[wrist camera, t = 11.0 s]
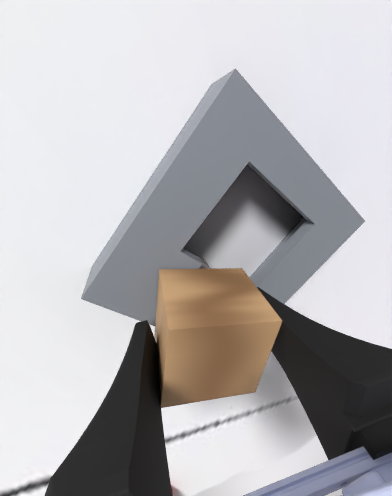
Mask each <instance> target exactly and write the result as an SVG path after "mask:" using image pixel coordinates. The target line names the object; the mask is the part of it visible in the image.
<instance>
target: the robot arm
mask: <svg viewBox="0 0 392 496" xmlns="http://www.w3.org/2000/svg"><path fill="white" fill-rule="evenodd" d="M257 288H258V290H259V291H260V292H261V294H262V295H263V296H264V298H265V299H266V300H267V301H268V303H269V304H270V305H271V307H272V308H273V309H274V311H275V312H276V313H277V314H278V316H279V317H280V318H281V320H282V323H281V326H280V329H279V331H278V334H277V337H276V339H275V342H274V344H273V347H272V350H271V351H272V352H273V354H274V355H275V357H276V359H277V360H278V362H279V363H280V365H281V366H282V368H283V370H284V371H285V373H286V375H287V377H288V379H289V381H290V382H291V384H292V386H293V388H294V390H295V392H296V394H297V396H298V398H299V400H300V402H301V403H302V405H303V407H304V409H305V411H306V413H307V416H308V418H309V420H310V422H311V424H312V426H313V428H314V430H315V432H316V434H317V436H318V438H319V440H320V442H321V445H322V447H323V449H324V451H325V453H326V455H327V458H328V460H329V461H326V462H324V463H321V464H319V465H316V466H314V467H312V468H309V469H307V470H304V471H302V472H299V473H297V474H294V475H292V476H290V477H287V478H285V479H283V480H280V481H277V482H275V483H273V484H270V485H268V486H266V487H263V488H260V489H258V490H256V491H253V492H251V493H248V494H246V495H244V496H325V495H327V494H329V493H332V492H334V491H336V490H339V489H341V488H343V487H344V488H343V489H342V494H343V496H392V349H389V348H386V347H382V346H378V345H375V344H371V343H368V342H365V341H362V340H359V339H356V338H353V337H350V336H348V335H345V334H343V333H340V332H337V331H335V330H332V329H330V328H328V327H325V326H323V325H321V324H319V323H317V322H315V321H313V320H311V319H309V318H307V317H305V316H303V315H301V314H300V313H298V312H296V311H294V310H293V309H291V308H289V307H288V306H286V305H285V304H283V303H281V302H280V301H278V300H277V299H275V298H274V297H272V296H271V295H269V294H268V293H266V292H265V291H263V290H262V289H261V288H259V287H257ZM45 496H172V490H171V484H170V477H169V470H168V462H167V455H166V447H165V440H164V432H163V423H162V415H161V404H160V387H159V369H158V354H157V343H156V341H155V338H154V336H153V333H152V331H151V328H150V325H149V323H148V320H145V321H142V322H138V323H136V324H135V327H134V331H133V334H132V337H131V340H130V343H129V346H128V349H127V351H126V354H125V357H124V359H123V362H122V364H121V366H120V368H119V371H118V373H117V375H116V377H115V380H114V382H113V384H112V386H111V388H110V390H109V391H108V393H107V395H106V397H105V399H104V401H103V402H102V404H101V406H100V408H99V409H98V411H97V413H96V414H95V416H94V418H93V419H92V421H91V422H90V424H89V425H88V427H87V428H86V430H85V431H84V433H83V434H82V436H81V437H80V439H79V440H78V442H77V443H76V445H75V446H74V448H73V449H72V450H71V452H70V453H69V454H68V456H67V457H66V459H65V460H64V461H63V463H62V464H61V465H60V467H59V468H58V469H57V471H56V472H55V473H54V475H53V476H52V477H51V478H50V482H49V485H48V488H47V490H46V493H45Z"/></svg>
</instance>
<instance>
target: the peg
mask: <svg viewBox="0 0 392 496" xmlns="http://www.w3.org/2000/svg"><path fill="white" fill-rule="evenodd" d="M197 257H198V256H197ZM199 259H200V261H201V263H202V265H201V266H200V268H199V269H159V278H158V292H157V307H156V322H155V341H156V343H157V354H158V369H159V387H160V404H161V408H163V407H169V406H175V405H181V404H187V403H193V402H199V401H205V400H211V399H217V398H223V397H229V396H235V395H241V394H247V393H253V392H255V391H256V389H257V386H258V383H259V381H260V378H261V376H262V373H263V370H264V368H265V365H266V363H267V360H268V357H269V355H270V352H271V350H272V347H273V344H274V342H275V339H276V337H277V334H278V331H279V329H280V326H281V323H282V320H281V318H280V317H279V316H278V314H277V313H276V312H275V311H274V309H273V308H272V307H271V305H270V304H269V303H268V301H267V300H266V299H265V298H264V296H263V295H262V294H261V292H260V291H259V290H258V288H257V287H256V286H255V285H254V283H253V282H252V281H251V279H250V278H249V277H248V275H247V274H246V273H245V272H244V270H243V269H242V268H237V269H209V267H208V265H207V263H206V262H205V261H204V260H203V259H202V258H200V257H199Z"/></svg>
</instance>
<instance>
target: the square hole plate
mask: <svg viewBox="0 0 392 496" xmlns="http://www.w3.org/2000/svg"><path fill="white" fill-rule="evenodd" d="M247 164H248V165H249V166H250V167H251V168H252V169H253V170H254V171H255V172H256V173H257V174H258V175H259V176H260V177H262V178H263V179H264V180H265V181H266V182H267V183H268V184H269V185H270V186H271V187H272V188H273V189H274V190H275V191H276V192H277V193H279V194H280V195H281V196H282V197H283V198H284V199H285V200H286V201H287V202H288V203H289V204H290V205H291V206H292V207H293V208H295V209H296V210H297V211H298V212H299V213H300V214H301V215H302V216H303V218H302V219H301V220H300V222H299V223H298V224H297V225H296V226H295V227H294V228H293V229H292V231H291V232H290V233H289V234H288V235H287V236H286V237H285V238H284V239H283V241H282V242H281V243H280V244H279V245H278V246H277V247H276V248H275V250H274V251H273V252H272V253H271V254H270V255H269V256H268V257H267V259H266V260H265V261H264V262H263V263H262V264H261V265H260V266H259V268H258V269H257V270H256V271H255V272H254V273H253V274H252V275H251V276H250V279H251V281H252V282H253V283H254V285H255V286H256V287H259V288H261V289H262V290H263V291H265V292H266V293H268V294H269V295H271V296H272V297H274V298H275V299H277V300H278V301H280V302H281V303H283V304H285V303H286V302H287V300H288V299H289V298H290V297H291V296H292V295H293V294H294V293H295V292H296V291H297V290H298V289H299V288H300V287H301V286H302V285H303V284H304V283H305V282H306V281H307V280H308V279H309V278H310V277H311V276H312V275H313V274H314V273H315V272H316V271H317V270H318V269H319V268H320V267H321V266H322V265H323V264H324V263H325V262H326V261H327V260H328V259H329V258H330V257H331V256H332V254H333V253H334V252H335V251H336V250H337V249H338V248H339V247H340V246H341V245H342V244H343V243H344V242H345V241H346V240H347V239H348V238H349V237H350V236H351V235H352V234H353V233H354V232H355V231H356V230H357V229H358V228H359V227H360V226H361V225H362V224H363V223H364V222H365V220H364V219H363V218H362V217H361V216H360V215H359V213H358V212H357V211H356V210H355V209H354V207H353V206H352V205H351V204H350V203H349V202H348V200H347V199H346V198H345V197H344V196H343V195H342V193H341V192H340V191H339V190H338V189H337V187H336V186H335V185H334V184H333V183H332V182H331V180H330V179H329V178H328V177H327V176H326V175H325V173H324V172H323V171H322V170H321V169H320V167H319V166H318V165H317V164H316V163H315V162H314V160H313V159H312V158H311V157H310V156H309V154H308V153H307V152H306V151H305V150H304V149H303V147H302V146H301V145H300V144H299V143H298V142H297V140H296V139H295V138H294V137H293V136H292V134H291V133H290V132H289V131H288V130H287V129H286V127H285V126H284V125H283V124H282V123H281V122H280V120H279V119H278V118H277V117H276V116H275V114H274V113H273V112H272V111H271V110H270V109H269V107H268V106H267V105H266V104H265V103H264V102H263V100H262V99H261V98H260V97H259V96H258V94H257V93H256V92H255V91H254V90H253V89H252V87H251V86H250V85H249V84H248V83H247V82H246V80H245V79H244V78H243V77H242V76H241V74H240V73H239V72H238V71H237V70H236V69H234V70H233V71H231V72H230V73H228V74H227V75H225V76H224V77H222V78H221V79H219V80H218V81H216V82H214V83H213V84H212V85H211V86H210V88H209V89H208V91H207V92H206V94H205V95H204V97H203V98H202V100H201V101H200V103H199V105H198V106H197V108H196V109H195V111H194V112H193V114H192V115H191V117H190V118H189V120H188V121H187V123H186V124H185V126H184V127H183V129H182V130H181V132H180V133H179V135H178V136H177V138H176V140H175V141H174V143H173V144H172V146H171V147H170V149H169V150H168V152H167V153H166V155H165V156H164V158H163V159H162V161H161V162H160V164H159V165H158V167H157V168H156V170H155V172H154V173H153V175H152V176H151V178H150V179H149V181H148V182H147V184H146V185H145V187H144V188H143V190H142V191H141V193H140V194H139V196H138V197H137V199H136V200H135V202H134V203H133V205H132V207H131V208H130V210H129V211H128V213H127V214H126V216H125V217H124V219H123V220H122V222H121V223H120V225H119V226H118V228H117V229H116V231H115V232H114V234H113V235H112V237H111V238H110V240H109V242H108V243H107V245H106V246H105V248H104V249H103V251H102V252H101V254H100V255H99V257H98V258H97V260H96V261H95V263H94V264H93V266H92V268H91V271H90V274H89V277H88V280H87V283H86V286H85V288H84V291H83V294H82V297H81V299H83V300H86V301H88V302H91V303H94V304H96V305H99V306H102V307H104V308H107V309H110V310H112V311H115V312H118V313H121V314H123V315H126V316H129V317H131V318H134V319H137V320H139V321H145V320H148V323H149V324H150V325H153V326H155V322H156V307H157V292H158V278H159V269H199V268H200V266H201V265H202V263H201V261H200V259H199V257H197V256H195V255H194V254H192V253H190V252H189V251H187V250H185V249H183V247H184V246H185V245H186V243H187V242H188V241H189V239H190V238H191V237H192V236H193V234H194V233H195V232H196V230H197V229H198V228H199V226H200V225H201V224H202V222H203V221H204V220H205V219H206V217H207V216H208V215H209V213H210V212H211V211H212V209H213V208H214V207H215V205H216V204H217V203H218V202H219V200H220V199H221V198H222V196H223V195H224V194H225V192H226V191H227V190H228V188H229V187H230V186H231V185H232V183H233V182H234V181H235V179H236V178H237V177H238V175H239V174H240V173H241V171H242V170H243V169H244V168H245V166H246V165H247Z"/></svg>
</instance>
